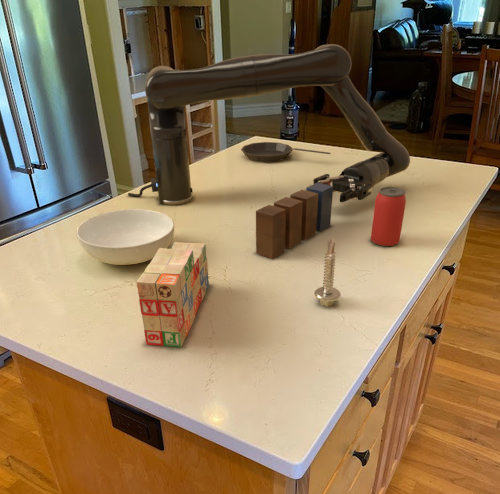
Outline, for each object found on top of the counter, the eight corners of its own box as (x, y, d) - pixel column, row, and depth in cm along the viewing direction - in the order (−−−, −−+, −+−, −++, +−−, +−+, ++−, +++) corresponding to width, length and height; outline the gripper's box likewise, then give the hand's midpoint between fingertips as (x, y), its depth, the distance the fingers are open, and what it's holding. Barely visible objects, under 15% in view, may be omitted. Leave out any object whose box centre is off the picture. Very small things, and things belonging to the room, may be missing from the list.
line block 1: (268, 246, 118) (269, 204, 112) (284, 251, 115) (285, 209, 110) (256, 253, 115) (255, 210, 109) (272, 259, 112) (272, 215, 107)
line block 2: (285, 237, 122) (286, 196, 116) (301, 242, 119) (302, 201, 113) (273, 244, 119) (273, 202, 113) (289, 249, 116) (290, 207, 111)
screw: (344, 306, 96) (321, 312, 94) (331, 294, 100) (309, 299, 98) (351, 241, 88) (326, 247, 87) (336, 231, 92) (312, 236, 91)
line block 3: (300, 229, 125) (302, 189, 120) (316, 234, 123) (318, 193, 117) (289, 235, 123) (290, 194, 117) (304, 240, 120) (306, 199, 114)
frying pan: (255, 147, 187) (255, 136, 185) (339, 157, 175) (339, 146, 173) (231, 160, 175) (231, 148, 172) (319, 172, 162) (320, 160, 160)
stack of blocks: (179, 283, 104) (173, 226, 97) (209, 285, 103) (205, 228, 96) (145, 345, 87) (135, 280, 80) (181, 348, 86) (174, 283, 79)
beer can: (402, 238, 120) (410, 187, 113) (396, 249, 115) (404, 197, 109) (374, 233, 123) (380, 184, 116) (367, 244, 118) (373, 193, 111)
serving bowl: (95, 285, 104) (88, 254, 100) (73, 247, 119) (67, 219, 115) (191, 262, 112) (188, 233, 108) (159, 229, 127) (155, 202, 123)
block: (314, 221, 129) (317, 182, 124) (330, 226, 127) (333, 186, 121) (304, 227, 127) (306, 187, 121) (320, 231, 124) (322, 191, 118)
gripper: (338, 158, 136) (302, 173, 126) (386, 168, 128) (353, 185, 118) (336, 186, 140) (301, 203, 130) (383, 197, 133) (350, 216, 123)
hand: (326, 194), depth 124 cm, fingers open, 8 cm apart
